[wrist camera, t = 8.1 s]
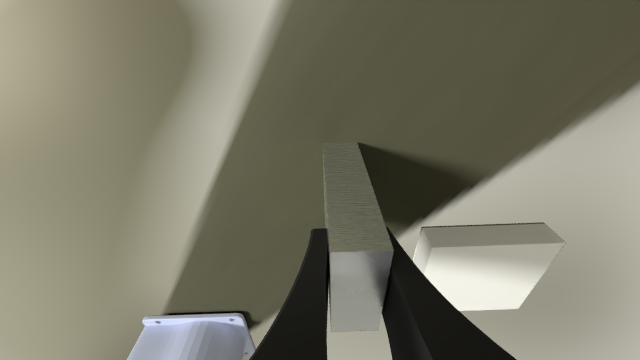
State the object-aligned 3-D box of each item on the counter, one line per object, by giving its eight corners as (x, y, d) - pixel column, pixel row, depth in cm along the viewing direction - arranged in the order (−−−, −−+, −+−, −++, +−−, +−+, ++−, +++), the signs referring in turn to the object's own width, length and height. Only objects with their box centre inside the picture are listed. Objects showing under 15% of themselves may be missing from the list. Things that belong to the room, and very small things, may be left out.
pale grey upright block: (324, 209, 17) (331, 331, 11) (322, 143, 15) (329, 252, 8) (353, 208, 17) (378, 330, 11) (357, 142, 15) (393, 250, 8)
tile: (411, 312, 21) (518, 308, 21) (432, 247, 17) (566, 242, 17) (403, 288, 23) (501, 284, 23) (420, 224, 19) (540, 220, 19)
